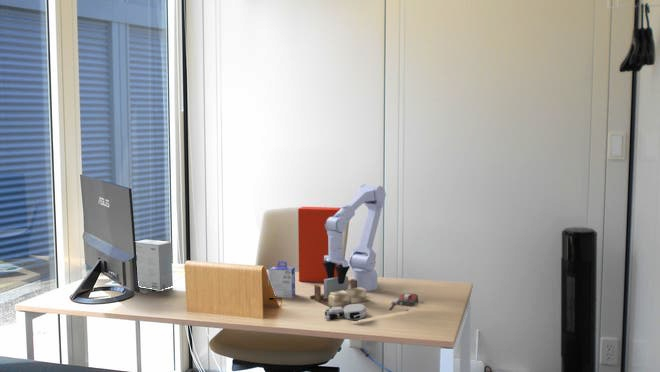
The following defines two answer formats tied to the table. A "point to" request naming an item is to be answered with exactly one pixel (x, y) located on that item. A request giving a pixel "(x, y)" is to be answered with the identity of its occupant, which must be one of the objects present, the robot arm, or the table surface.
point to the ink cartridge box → (282, 280)
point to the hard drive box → (154, 264)
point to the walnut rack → (325, 300)
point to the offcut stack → (347, 296)
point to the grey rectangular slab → (334, 285)
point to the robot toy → (346, 312)
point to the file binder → (313, 242)
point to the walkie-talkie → (405, 300)
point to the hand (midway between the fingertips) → (335, 281)
